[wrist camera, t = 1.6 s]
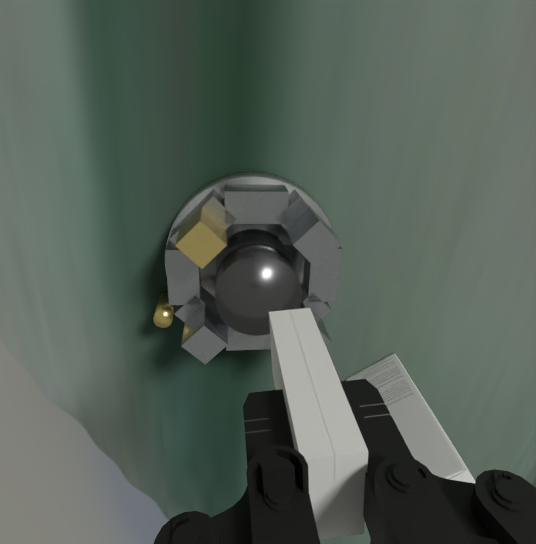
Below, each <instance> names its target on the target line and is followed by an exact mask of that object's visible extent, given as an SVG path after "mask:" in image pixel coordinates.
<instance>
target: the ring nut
mask: <svg viewBox="0 0 536 544" xmlns="http://www.w3.org/2000/svg"><path fill="white" fill-rule="evenodd" d="M231 224H281V225H282V226H283V227H284V228H285V229H286V231H287V233H288V235H289V238H290V240H291V242H292V244H293V246H294V247H295V248H296V249H297V250H298V251H299V252H300V253H301V254H302V255H303V256H304V257H305V261H304V275H303V284H302V285H301V288H302V302H301V306H300V309H302V308H310V309H311V311H312V314H313V316H314V319H315V321H316V324H317V326H318V329H319V331H320V334H321V336H322V338H323V341H324V343H325V346H326V345H328V344H329V343H330V342H331V339H330V337H329V335H328V333H327V330H326V328H325V326H324V323H323V321H322V318H323V317H325V316H326V315H327V314H328V313H329V312H330V311H332V310H331V308H330V306H329V304H328V302H337V294H338V285H339V276H340V266H341V257H342V248H341V245H342V244H341V243H340V241H339V240H338V239H339V238H338V237H337V235H336V234H335V233H334V232H333V230H332V229H331V228H330V227H329V226H328V225H327V224H326V223H325V221H324V220H323V219H322V218H321V217H320V216H319V215H318V214H317V213H316V212H315V211H314V210H313V209H312V207H311V206H310V205H309V204H308V203H307V202H306V201H305V200H304V199H303V198H302V197H301V196H300V195H299V193H298V192H297V191H296V190H295V189H294V190H293V191H292V192H291V193H290V194H289V191H288V190H287V188H286V187H285V185H262V184H224V198H223V197H222V196H221V195H220V194H219V193H218V192H217V191H215V190H214V189H213V190H212V191H211V192H210V193H209V194H208V195H207V196H206V197H205V198H204V199H203V200H202V201H201V202H200V203H199V204H198V205H197V206H196V207H195V208H194V209H193V210H192V211H191V212H190V213H189V214H188V215H187V216H186V217H185V218H184V219H183V220H182V221H181V222H180V223H179V224H178V225H177V226H176V227H175V228H174V229H173V230H172V233H171V236H170V239H169V240H168V243H167V246H166V249H165V255H166V269H167V283H168V297H169V305H176V307H175V313H174V315H176V316H177V317H178V318H179V319H181V320H182V321H183V322H185V323H184V330H183V337H182V344H181V347H183V348H184V349H185V350H187V351H188V352H189V353H191V354H192V355H193V356H195V357H196V358H197V359H199V360H200V361H201V362H203V363H204V364H207V363H208V362H209V361H210V360H211V359H212V358H213V357H215V356H216V355H217V354H218V353H219V352H220V351H221V350H223V349H224V348H225V347H226V351H231V350H261V349H271V340H270V334H267V335H260V336H253V335H246V334H242V333H240V332H237V331H235V330H234V329H232V328H231V327H229V326H228V325H227V324H226V323H225V322H224V321H223V320H222V319H221V317H220V315H219V314H218V311H217V308H216V304H215V297H214V296H213V295H212V294H210V293H209V292H208V291H207V290H206V289H205V288H203V287H202V286H201V269H203V268H204V267H205V266H206V265H207V264H208V263H209V262H210V261H211V260H212V259H213V258H214V257H215V256H216V255H217V254H218V253H219V252H221V251H222V250H223V249H224V248H225V247H226V246H227V234H226V229H227V228H228V227H229V226H230V225H231ZM200 268H201V269H200Z"/></svg>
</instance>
